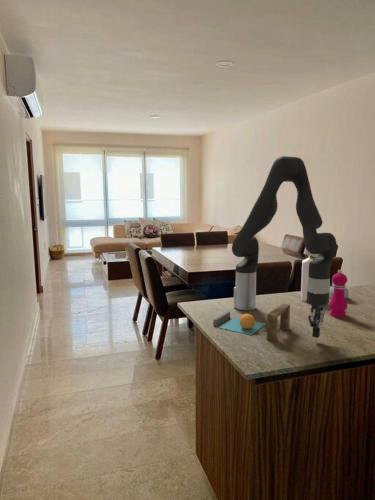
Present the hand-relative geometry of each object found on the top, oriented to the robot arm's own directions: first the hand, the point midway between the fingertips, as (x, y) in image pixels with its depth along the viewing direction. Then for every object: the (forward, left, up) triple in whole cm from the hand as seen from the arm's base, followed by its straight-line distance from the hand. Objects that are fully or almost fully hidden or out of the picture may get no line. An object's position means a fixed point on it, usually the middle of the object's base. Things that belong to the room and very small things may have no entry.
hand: (316, 336), depth 133 cm
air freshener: (-6, +60, -2) cm, 60 cm away
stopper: (-38, 0, -2) cm, 38 cm away
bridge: (-14, 0, -2) cm, 14 cm away
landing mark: (-29, 0, -2) cm, 29 cm away
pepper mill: (0, +34, -2) cm, 34 cm away
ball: (-26, -2, +1) cm, 26 cm away
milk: (-18, +50, -2) cm, 53 cm away
